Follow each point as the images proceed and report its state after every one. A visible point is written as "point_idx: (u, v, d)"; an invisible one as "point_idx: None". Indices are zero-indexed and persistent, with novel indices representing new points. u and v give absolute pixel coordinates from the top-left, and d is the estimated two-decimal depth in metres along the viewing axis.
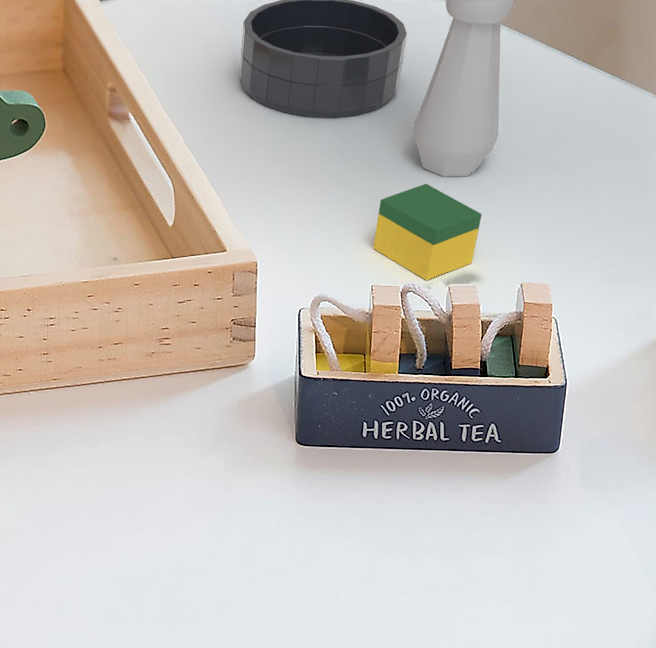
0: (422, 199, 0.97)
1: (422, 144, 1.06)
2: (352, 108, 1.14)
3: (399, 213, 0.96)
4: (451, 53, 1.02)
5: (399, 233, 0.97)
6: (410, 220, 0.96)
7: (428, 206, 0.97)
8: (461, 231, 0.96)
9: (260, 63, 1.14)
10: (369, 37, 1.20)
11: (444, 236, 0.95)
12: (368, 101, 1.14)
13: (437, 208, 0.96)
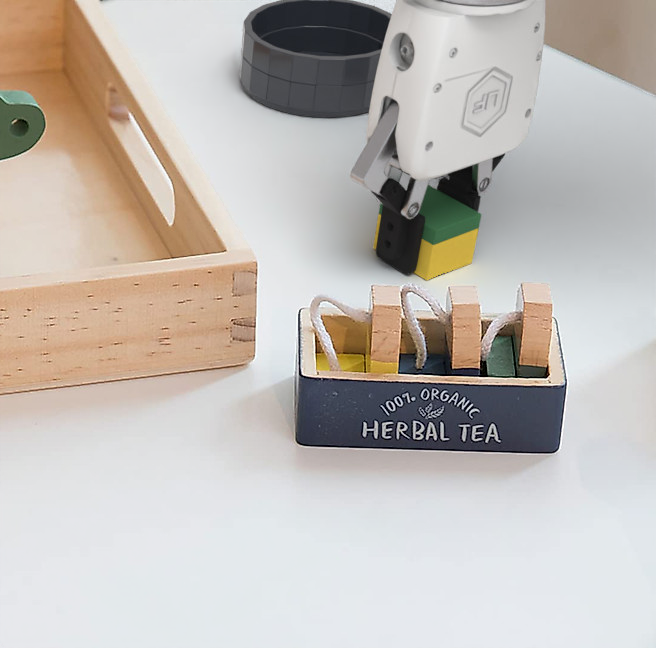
0: None
1: None
2: (352, 108, 1.14)
3: None
4: None
5: None
6: None
7: (428, 206, 0.97)
8: (461, 231, 0.96)
9: (260, 63, 1.14)
10: (369, 37, 1.20)
11: (444, 236, 0.95)
12: (368, 101, 1.14)
13: (437, 208, 0.96)
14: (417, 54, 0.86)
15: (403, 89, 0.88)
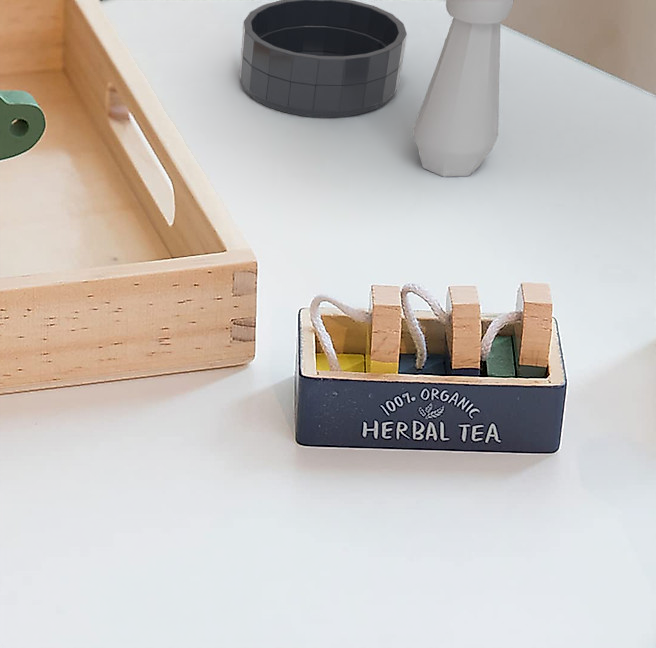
0: None
1: (422, 145, 1.06)
2: (352, 108, 1.14)
3: None
4: (451, 53, 1.02)
5: None
6: None
7: None
8: None
9: (260, 63, 1.14)
10: (369, 37, 1.20)
11: None
12: (368, 101, 1.14)
13: None
14: None
15: None
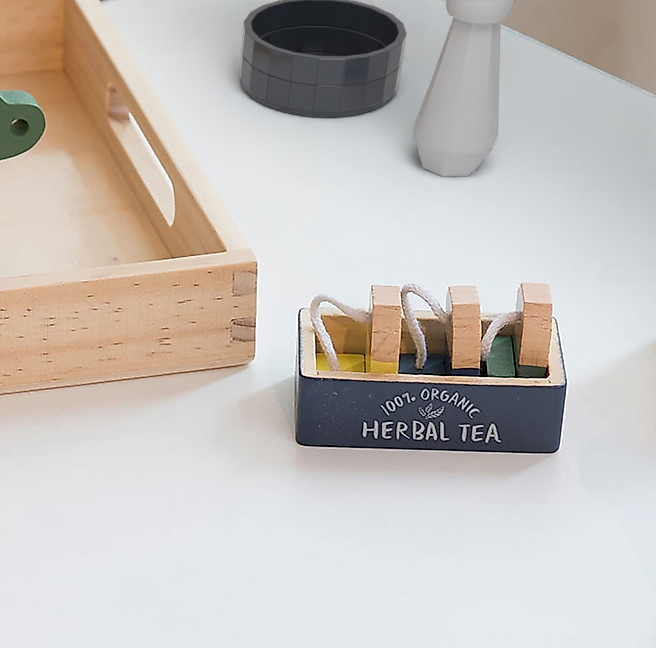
0: None
1: (422, 144, 1.06)
2: (352, 108, 1.14)
3: None
4: (451, 53, 1.02)
5: None
6: None
7: None
8: None
9: (260, 63, 1.14)
10: (369, 37, 1.20)
11: None
12: (368, 101, 1.14)
13: None
14: None
15: None
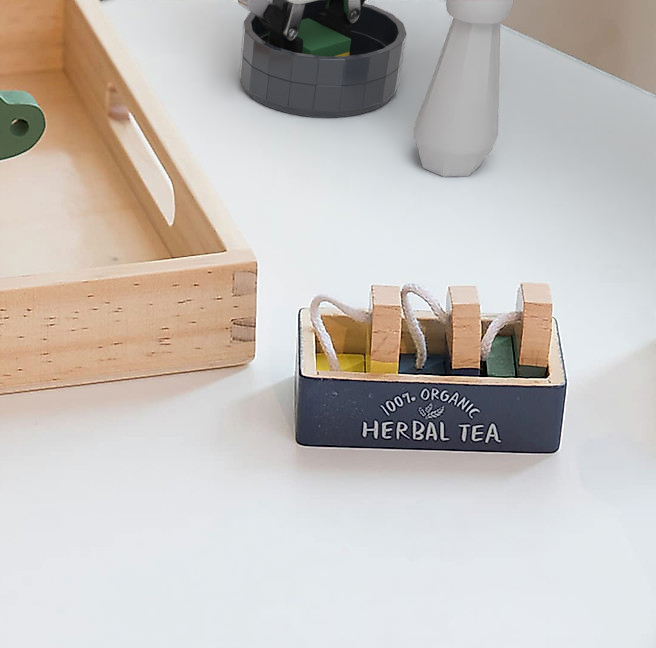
0: (303, 29, 1.17)
1: (422, 144, 1.06)
2: (352, 108, 1.14)
3: None
4: (451, 53, 1.02)
5: None
6: None
7: (307, 33, 1.16)
8: (334, 53, 1.15)
9: (260, 63, 1.14)
10: (369, 37, 1.20)
11: None
12: (368, 101, 1.14)
13: (315, 35, 1.16)
14: None
15: None
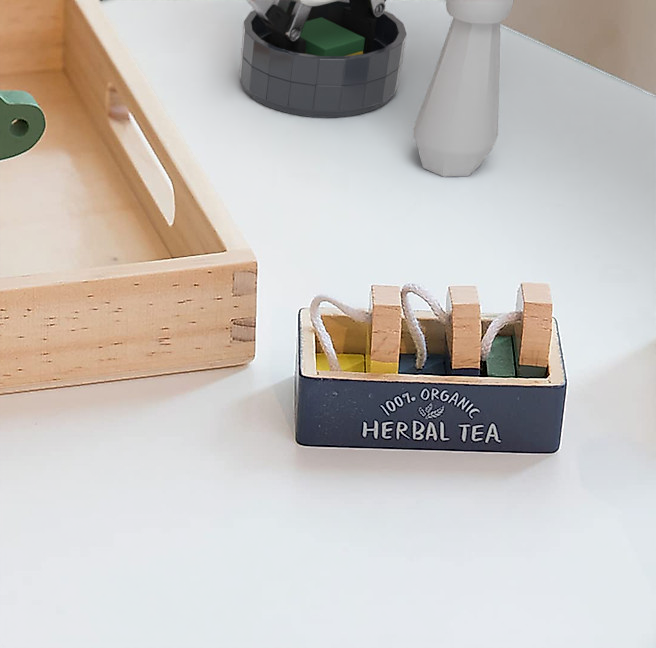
0: (316, 28, 1.17)
1: (422, 144, 1.06)
2: (352, 108, 1.14)
3: None
4: (451, 53, 1.02)
5: None
6: None
7: (321, 32, 1.16)
8: (347, 52, 1.15)
9: (260, 63, 1.14)
10: None
11: (333, 55, 1.15)
12: (368, 101, 1.14)
13: (328, 34, 1.16)
14: None
15: None
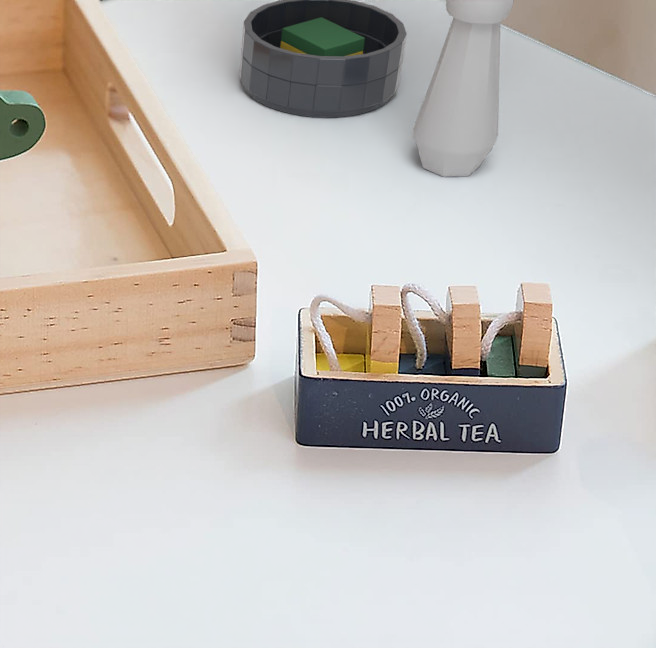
0: (316, 28, 1.17)
1: (422, 144, 1.06)
2: (352, 108, 1.14)
3: (297, 38, 1.16)
4: (451, 53, 1.02)
5: None
6: (305, 43, 1.15)
7: (321, 32, 1.16)
8: (347, 52, 1.15)
9: (260, 63, 1.14)
10: (369, 37, 1.20)
11: (333, 55, 1.15)
12: (368, 101, 1.14)
13: (328, 34, 1.16)
14: None
15: None
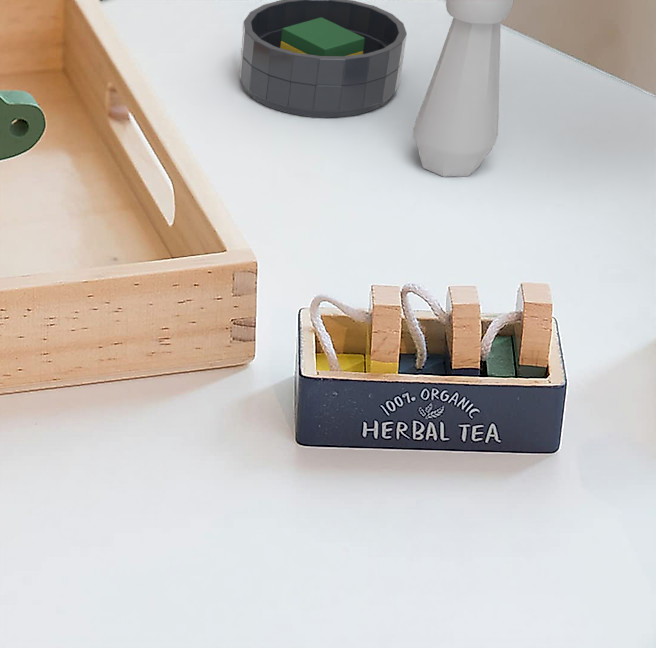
0: (316, 28, 1.17)
1: (422, 144, 1.06)
2: (352, 108, 1.14)
3: (297, 38, 1.16)
4: (451, 53, 1.02)
5: None
6: (305, 43, 1.15)
7: (321, 32, 1.16)
8: (347, 52, 1.15)
9: (260, 63, 1.14)
10: (369, 37, 1.20)
11: (333, 55, 1.15)
12: (368, 101, 1.14)
13: (328, 34, 1.16)
14: None
15: None
